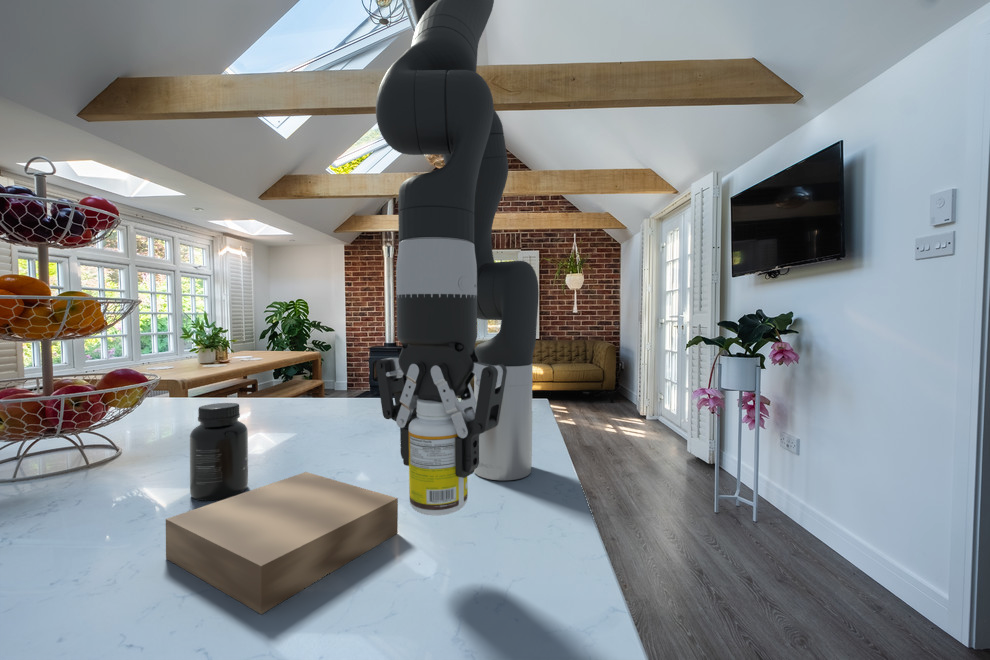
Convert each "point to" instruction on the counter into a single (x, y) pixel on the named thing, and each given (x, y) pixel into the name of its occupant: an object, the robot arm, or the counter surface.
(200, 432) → the supplement bottle
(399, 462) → the counter surface
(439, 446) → the supplement bottle
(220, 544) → the walnut block
